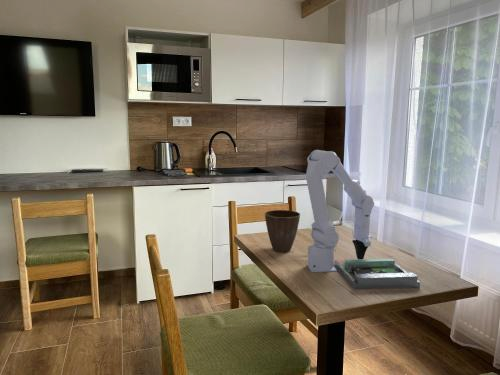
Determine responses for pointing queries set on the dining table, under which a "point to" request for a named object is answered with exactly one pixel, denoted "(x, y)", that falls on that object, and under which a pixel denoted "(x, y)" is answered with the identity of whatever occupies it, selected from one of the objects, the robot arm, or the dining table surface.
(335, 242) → the robot arm
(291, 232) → the plant pot
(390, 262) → the long teal rectangular bar
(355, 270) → the disk drive
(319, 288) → the dining table surface
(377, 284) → the shallow rimmed tray
